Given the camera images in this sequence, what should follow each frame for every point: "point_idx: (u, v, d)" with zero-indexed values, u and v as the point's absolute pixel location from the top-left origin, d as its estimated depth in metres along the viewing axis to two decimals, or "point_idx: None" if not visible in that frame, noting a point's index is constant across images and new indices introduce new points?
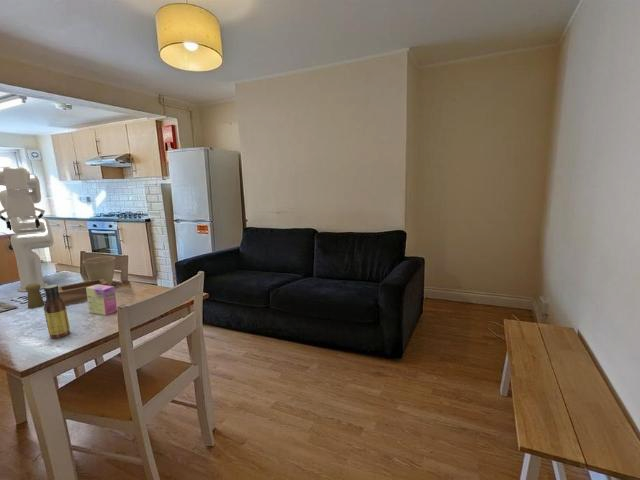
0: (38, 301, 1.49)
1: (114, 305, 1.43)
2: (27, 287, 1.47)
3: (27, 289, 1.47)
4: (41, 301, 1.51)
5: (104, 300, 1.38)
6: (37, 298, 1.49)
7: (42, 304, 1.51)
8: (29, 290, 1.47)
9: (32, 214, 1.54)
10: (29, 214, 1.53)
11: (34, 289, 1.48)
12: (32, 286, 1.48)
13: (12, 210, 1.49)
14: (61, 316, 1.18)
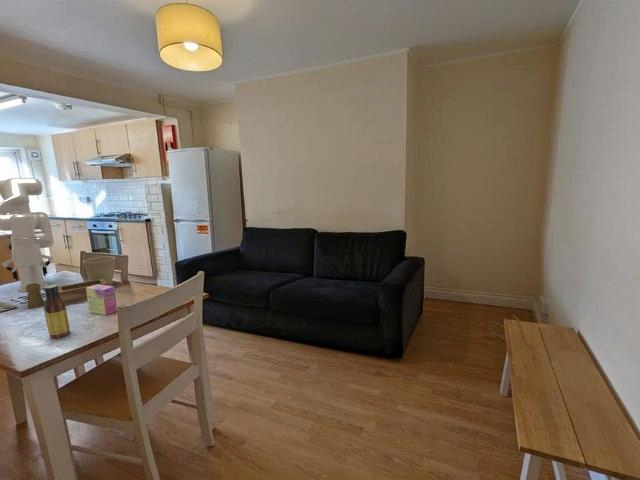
0: (38, 301, 1.49)
1: (114, 305, 1.43)
2: (27, 287, 1.47)
3: (27, 289, 1.47)
4: (41, 301, 1.51)
5: (104, 300, 1.38)
6: (37, 298, 1.49)
7: (42, 304, 1.51)
8: (29, 290, 1.47)
9: (39, 262, 1.48)
10: (36, 262, 1.47)
11: (34, 289, 1.48)
12: (32, 286, 1.48)
13: (19, 260, 1.43)
14: (61, 316, 1.18)
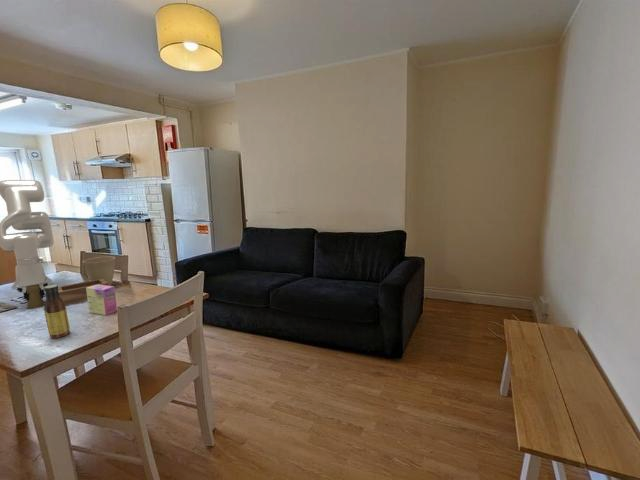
0: (38, 301, 1.49)
1: (114, 305, 1.43)
2: (27, 287, 1.47)
3: (27, 289, 1.47)
4: (41, 301, 1.51)
5: (104, 300, 1.38)
6: (37, 298, 1.49)
7: (42, 304, 1.51)
8: (29, 290, 1.47)
9: (42, 281, 1.50)
10: (39, 282, 1.49)
11: (34, 289, 1.48)
12: (32, 286, 1.48)
13: (22, 280, 1.45)
14: (61, 316, 1.18)
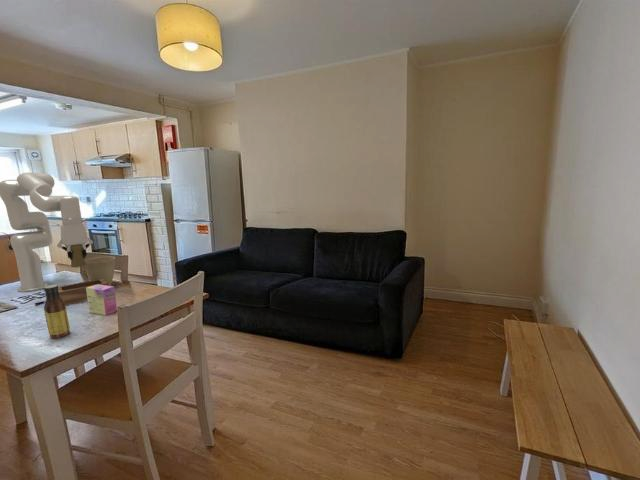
0: (80, 260, 1.56)
1: (114, 305, 1.43)
2: (71, 246, 1.54)
3: (71, 248, 1.54)
4: (83, 261, 1.58)
5: (104, 300, 1.38)
6: (80, 257, 1.56)
7: (84, 264, 1.58)
8: (73, 249, 1.54)
9: (85, 242, 1.57)
10: (82, 242, 1.56)
11: (78, 249, 1.55)
12: (76, 245, 1.54)
13: (67, 239, 1.52)
14: (61, 316, 1.18)
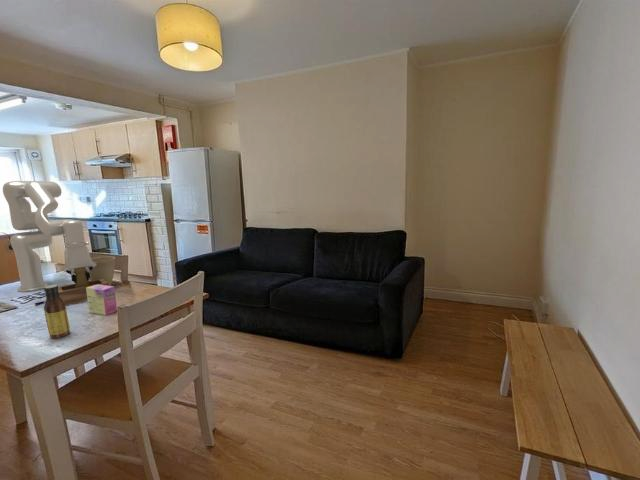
0: (84, 283, 1.58)
1: (114, 305, 1.43)
2: (75, 269, 1.56)
3: (75, 271, 1.56)
4: (87, 283, 1.60)
5: (104, 300, 1.38)
6: (83, 280, 1.58)
7: None
8: (77, 272, 1.56)
9: (88, 265, 1.59)
10: (86, 265, 1.58)
11: (81, 272, 1.57)
12: (79, 269, 1.56)
13: (71, 262, 1.54)
14: (61, 316, 1.18)
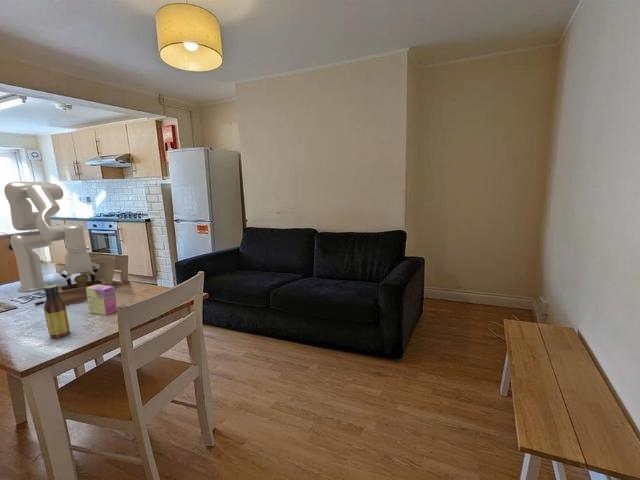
0: None
1: (114, 305, 1.43)
2: (76, 278, 1.57)
3: (76, 280, 1.57)
4: None
5: (104, 300, 1.38)
6: None
7: None
8: (78, 281, 1.57)
9: (89, 269, 1.59)
10: (87, 270, 1.59)
11: (82, 280, 1.58)
12: (80, 277, 1.57)
13: (72, 267, 1.54)
14: (61, 316, 1.18)
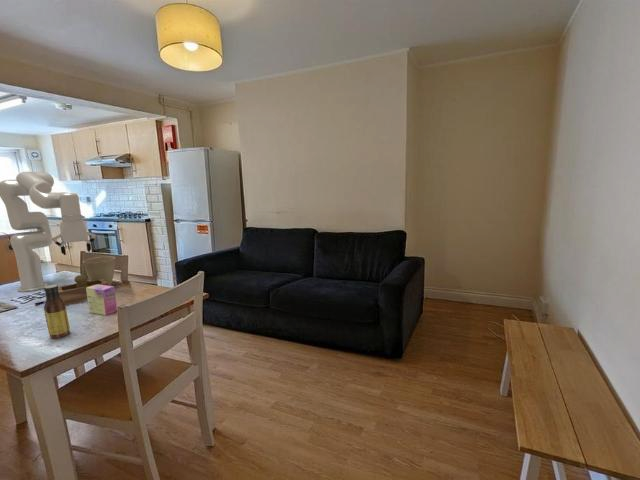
0: None
1: (114, 305, 1.43)
2: (76, 278, 1.57)
3: (76, 280, 1.57)
4: None
5: (104, 300, 1.38)
6: None
7: None
8: (78, 281, 1.57)
9: (85, 239, 1.57)
10: (82, 239, 1.56)
11: (82, 280, 1.58)
12: (80, 277, 1.57)
13: (67, 236, 1.51)
14: (61, 316, 1.18)
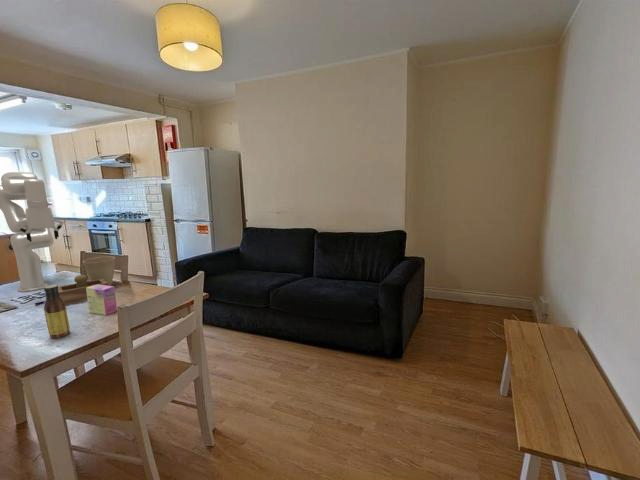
0: None
1: (114, 305, 1.43)
2: (76, 278, 1.57)
3: (76, 280, 1.57)
4: None
5: (104, 300, 1.38)
6: None
7: None
8: (78, 281, 1.57)
9: (51, 226, 1.56)
10: (48, 226, 1.55)
11: (82, 280, 1.58)
12: (80, 277, 1.57)
13: (32, 222, 1.50)
14: (61, 316, 1.18)
